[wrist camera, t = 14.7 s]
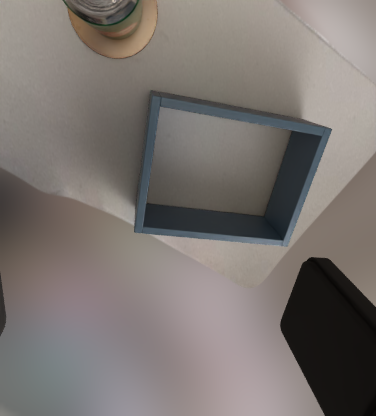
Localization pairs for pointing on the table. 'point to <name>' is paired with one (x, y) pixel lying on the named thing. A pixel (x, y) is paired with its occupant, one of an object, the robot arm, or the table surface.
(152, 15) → the coaster
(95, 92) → the table surface
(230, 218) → the frame
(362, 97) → the table surface
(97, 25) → the soda can
